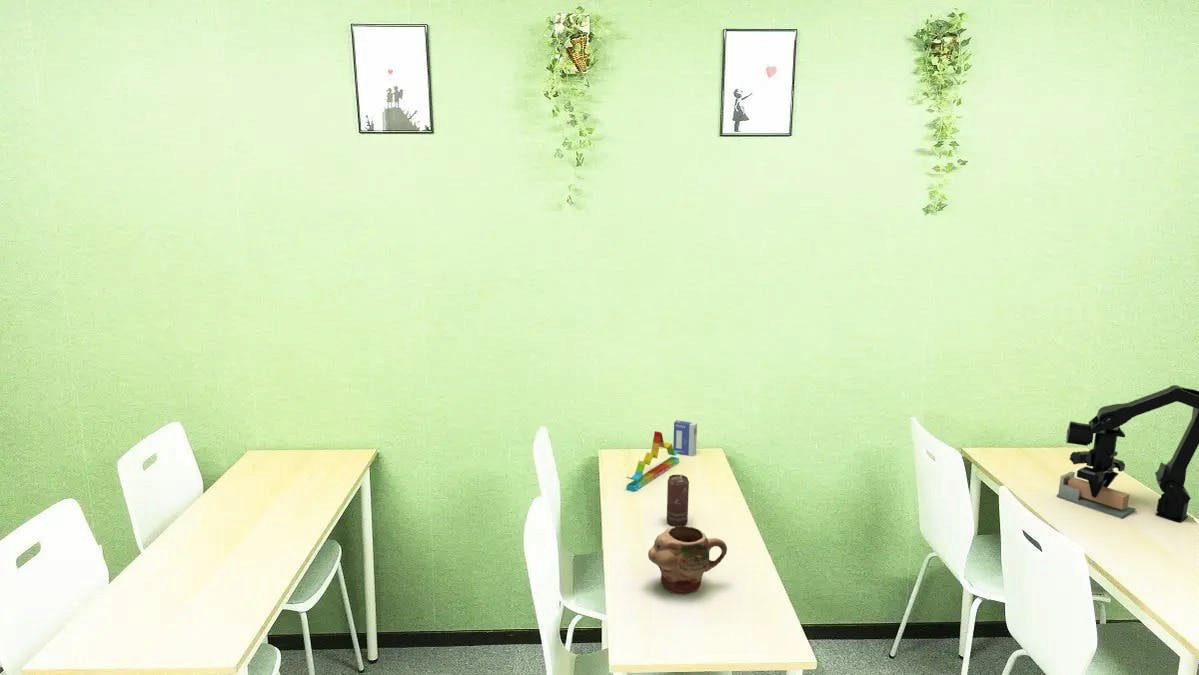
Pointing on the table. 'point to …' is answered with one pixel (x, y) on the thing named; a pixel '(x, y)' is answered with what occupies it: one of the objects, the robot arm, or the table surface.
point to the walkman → (685, 438)
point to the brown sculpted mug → (684, 558)
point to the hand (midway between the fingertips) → (1097, 495)
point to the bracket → (1068, 487)
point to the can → (677, 500)
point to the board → (1100, 506)
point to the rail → (1101, 494)
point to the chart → (656, 471)
